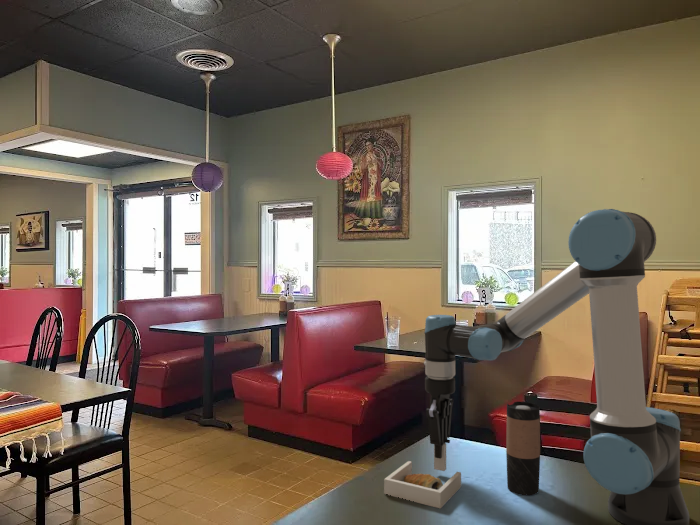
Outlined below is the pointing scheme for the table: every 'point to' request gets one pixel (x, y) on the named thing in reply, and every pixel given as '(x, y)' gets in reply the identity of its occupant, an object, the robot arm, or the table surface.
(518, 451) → the travel mug
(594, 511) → the table surface
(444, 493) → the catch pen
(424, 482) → the pastry
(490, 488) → the table surface
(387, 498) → the table surface
